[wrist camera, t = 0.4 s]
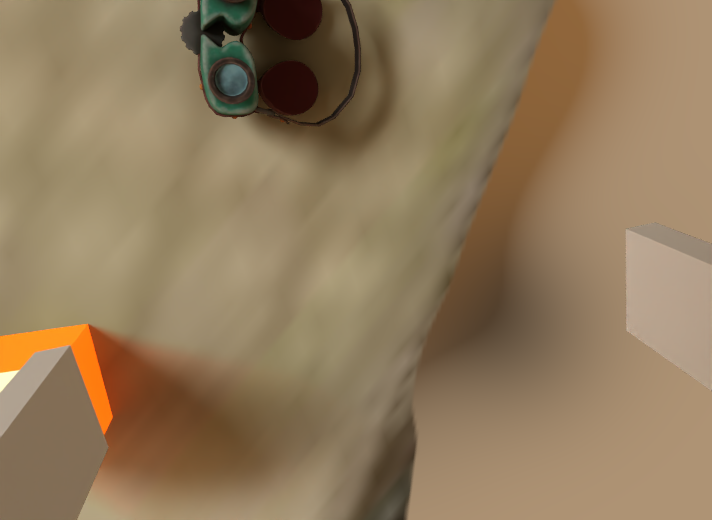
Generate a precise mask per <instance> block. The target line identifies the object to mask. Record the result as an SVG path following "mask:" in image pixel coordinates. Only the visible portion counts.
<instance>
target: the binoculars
mask: <svg viewBox="0 0 712 520" xmlns="http://www.w3.org/2000/svg"><path fill="white" fill-rule="evenodd" d="M341 1H342V3H343V5H344V6H345V8H346V11H347V14H348V18H349V21H350V24H351V27H352V32H353V39H354V47H355V72H354V76H353V79H352V83H351V87H350V90H349V94H348V96H347V97H346V98H345V99H344V101H343V102H342V103H341V104H340V105H339V107H338V108H337V109H336V110H335V111H334V113H333V114H332V115H331V116H329V117H327V118H325V119H323V120H321V121H319V122H317V123H305V122H297V121H295V120H292V119H289V118H286V117H283V116H282V115H287V116H293V115H297V114H301V113H304V112H306V111H307V110H309V109H310V108H311V107H312V106H313V104H314V103H315V101H316V98H317V94H318V83H317V80H316V77H315V75H314V73H313V72H312V71H311V69H310V68H309V67H307V66H306V65H305V64H303V63H301V62H298V61H284V62H281V63H278V64H276V65H275V66H273V67H272V68H270V69H269V70H267V71H266V72H265V73H264V74H263V76H262V77H261V79H260V81H258V80H257V76H256V69H255V63H254V59H253V57H252V54H251V52H250V51H249V50H248V48H247V47H246V46H245V45H244V44H243V40H242V39H243V36H244V34H245V32H246V30H247V29H250V28H251V27H252V24H251V22H252V21H253V19H254V17H255V12H261V14H262V16H263V18H264V20H265V21H266V23H267V24H268V25H269V26H270V27H271V28H272V29H273V30H274V31H275V32H277V33H278V34H280V35H282V36H284V37H286V38H288V39H292V40H301V39H305V38H307V37H309V36H311V35H312V34H313V33H314V32H315V31H316V29H317V28H318V27H319V24H320V22H321V18H322V4H321V1H320V0H201V3H200V0H198V11H197V12H193V11H192V12H190V13H189V15H188V16H187V17H184V19H183V25H182V26H181V27H180V31H181V32H182V36H181V38H182V41H184V42H185V43H186V47H187V48H188V49H189V50H190V49H191V50H192V51H193V53H194V54H196V55H198V72H199V76H200V80H201V84H200V89H201V90H203V93H204V97H205V100H206V102H207V104H208V106H209V107H210V108H211V109H212V110H213V112H214V113H215V114H216V115H219V116H223V117H232V118H233V119H236V118H237V117H244V116H247V115H250V114H252V113H254V112H255V113H263V114H267V116H269V117H272V118H277V119H280V121H281V122H286V123H287V124H289V122H288V121H290V122H293V123H296V124H299V125H304V126H321V125H323V124H325V123H327V122H329V121H331V120H333V119H335V118H336V117H337V116H338V114H339V113H340V112H341V111H342V110H343V109H344V107H345V106H346V105H347V104H348V103H349V101H350V100H351V99H352V98H353V97H354V93H355V90H356V86H357V83H358V79H359V75H360V72H361V47H360V39H359V32H358V26H357V23H356V20H355V16H354V13H353V10H352V6H351V4H350V2H349V1H348V0H341ZM223 31H225V32H226V33H228V34H229V35H232V36H237V35H239V34H241V33H242V32H243V33H242V34H241V37H240V42H238V41H233V42H230V43H228V44H227V45H225V46H224V47H222V41H224V38H225V35H223ZM200 63H201V71H200ZM201 73H202V75H201ZM258 93H259V94H260V96H261V98H262V99H263V101H264V102H265V103H266V104H267V105H268V106H269V107H270V108H271V109H263V108H259V107H258ZM275 113H276V114H277V115H278V116H275ZM279 113H280V114H282V115H280V114H279ZM287 120H288V121H287Z"/></svg>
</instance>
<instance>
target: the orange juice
mask: <svg viewBox="0 0 712 520" xmlns="http://www.w3.org/2000/svg"><path fill="white" fill-rule="evenodd" d="M67 345H71V348H72V351H73V353H74V356H75V359H76V361H77V364H78V367H79V369H80V372H81V375H82V377H83V380H84V383H85V386H86V388H87V391H88V394H89V396H90V399H91V402H92V404H93V407H94V410H95V412H96V415H97V418H98V420H99V423H100V426H101V428H102V431H103V434H105V432H106V430H107V428H108V426H109V424H110V422H111V420H112V418H113V416H112V412H111V409H110V405H109V401H108V398H107V394H106V390H105V386H104V383H103V379H102V375H101V372H100V368H99V364H98V360H97V357H96V353H95V349H94V345H93V342H92V338H91V334H90V331H89V327H88V324H85V325H78V326H71V327H63V328H56V329H49V330H42V331H35V332H28V333H21V334H14V335H7V336H0V392H1V391H2V390H3V389H4V387H5V386H6V385H7V384H8V383H9V382H10V380H11V379H12V378H13V377H14V376H15V375H16V374H17V372H18V371H19V370H20V369H21V368H22V367H23V365H24V364H25V363H26V362H27V361H28V360H29V358H30V357H31V356H32V355H33V354H34V353H35V352H38V351H43V350H48V349H53V348H57V347H62V346H67Z"/></svg>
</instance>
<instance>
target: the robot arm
mask: <svg viewBox="0 0 712 520" xmlns="http://www.w3.org/2000/svg"><path fill="white" fill-rule="evenodd" d="M626 331H628V332H629V333H631V334H632V335H633V336H635V337H636V338H637V339H639V340H640V341H642V342H643V343H645V344H646V345H647V346H649V347H650V348H652V349H653V350H654V351H656V352H657V353H659V354H660V355H661V356H663V357H664V358H666V359H667V360H669V361H670V362H671V363H673V364H674V365H676V366H677V367H679V368H680V369H681V370H683V371H684V372H686V373H687V374H688V375H690V376H691V377H693V378H694V379H695V380H697V381H698V382H700V383H701V384H703V385H704V386H705V387H707V388H708V389H710V390H711V391H712V244H711V243H709V242H706V241H703V240H700V239H698V238H695V237H692V236H690V235H687V234H684V233H682V232H679V231H676V230H674V229H671V228H668V227H666V226H663V225H660V224H658V223H651V224H646V225H641V226H637V227H632V228H628V229H626ZM108 448H109V447H108V445H107V442H106V439H105V437H104V434H103V431H102V428H101V426H100V423H99V420H98V418H97V415H96V412H95V410H94V407H93V404H92V402H91V399H90V396H89V394H88V391H87V388H86V386H85V383H84V380H83V377H82V375H81V372H80V369H79V367H78V364H77V361H76V359H75V356H74V353H73V351H72V348H71V345H67V346H62V347H57V348H53V349H48V350H43V351H38V352H35V353H34V354H33V355H32V356H31V357H30V358H29V360H28V361H27V362H26V363H25V364H24V365H23V367H22V368H21V369H20V370H19V371H18V372H17V374H16V375H15V376H14V377H13V378H12V379H11V380H10V382H9V383H8V384H7V385H6V386H5V387H4V389H3V390H2V391H1V392H0V520H77V518H78V516H79V514H80V511H81V509H82V507H83V505H84V502H85V500H86V498H87V495H88V493H89V491H90V489H91V486H92V484H93V482H94V479H95V477H96V475H97V473H98V470H99V468H100V466H101V463H102V461H103V459H104V457H105V454H106V452H107V450H108Z"/></svg>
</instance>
